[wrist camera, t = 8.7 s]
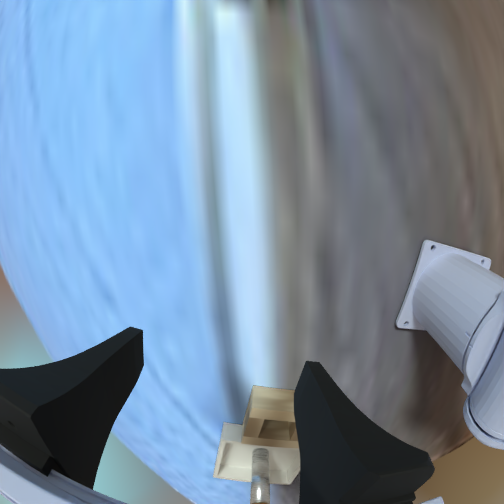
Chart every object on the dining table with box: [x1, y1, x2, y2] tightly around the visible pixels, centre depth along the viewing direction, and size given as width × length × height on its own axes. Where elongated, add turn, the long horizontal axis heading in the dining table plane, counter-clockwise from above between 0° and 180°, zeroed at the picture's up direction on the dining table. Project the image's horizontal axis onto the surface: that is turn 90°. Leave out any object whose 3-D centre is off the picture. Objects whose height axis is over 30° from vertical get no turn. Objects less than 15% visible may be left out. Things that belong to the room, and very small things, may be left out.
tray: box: [213, 422, 300, 484], centre depth 26 cm, size 10×10×2 cm
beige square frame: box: [241, 385, 299, 448], centre depth 24 cm, size 6×6×3 cm
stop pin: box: [250, 448, 270, 504], centre depth 23 cm, size 2×2×9 cm
